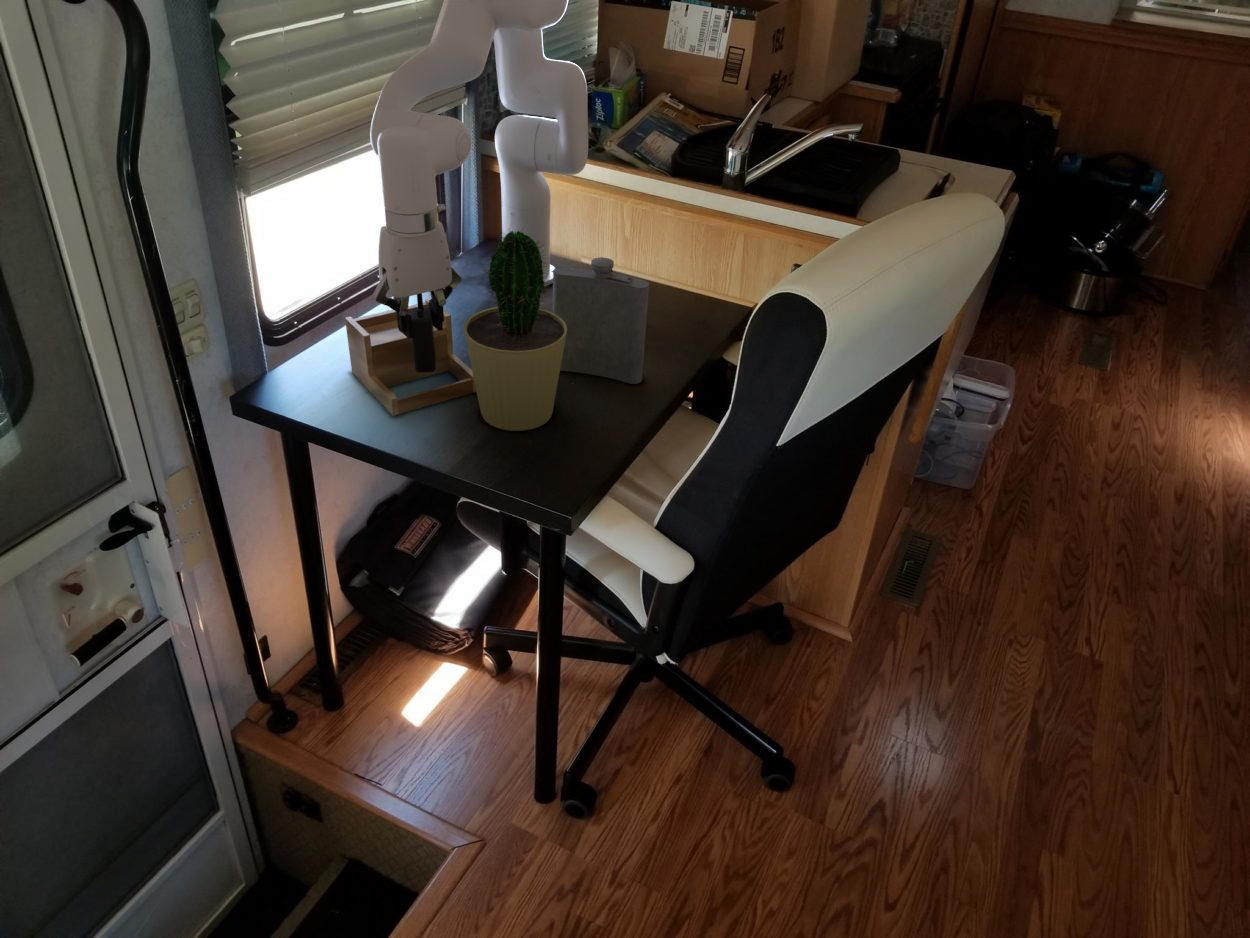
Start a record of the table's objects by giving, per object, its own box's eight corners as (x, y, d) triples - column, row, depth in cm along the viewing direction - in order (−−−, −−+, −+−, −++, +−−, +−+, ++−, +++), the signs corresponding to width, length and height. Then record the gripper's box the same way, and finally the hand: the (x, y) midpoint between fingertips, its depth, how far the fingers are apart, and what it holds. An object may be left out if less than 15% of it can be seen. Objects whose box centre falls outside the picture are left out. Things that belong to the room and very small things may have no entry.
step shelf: (351, 372, 155) (344, 317, 149) (434, 351, 162) (430, 298, 157) (392, 416, 144) (387, 359, 139) (478, 391, 152) (476, 336, 146)
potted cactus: (470, 386, 153) (462, 208, 136) (564, 387, 154) (568, 211, 137) (463, 438, 140) (454, 248, 123) (566, 438, 142) (570, 251, 125)
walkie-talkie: (435, 372, 147) (427, 285, 138) (413, 373, 147) (404, 285, 138) (435, 357, 151) (428, 271, 142) (414, 358, 151) (405, 271, 142)
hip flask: (549, 368, 159) (550, 258, 148) (557, 358, 163) (558, 249, 151) (639, 385, 156) (647, 273, 145) (645, 374, 160) (653, 264, 148)
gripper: (452, 199, 141) (458, 309, 152) (345, 219, 133) (360, 334, 143) (476, 215, 136) (481, 327, 147) (367, 237, 128) (381, 354, 139)
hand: (421, 329), depth 145 cm, fingers closed on walkie-talkie, 4 cm apart
